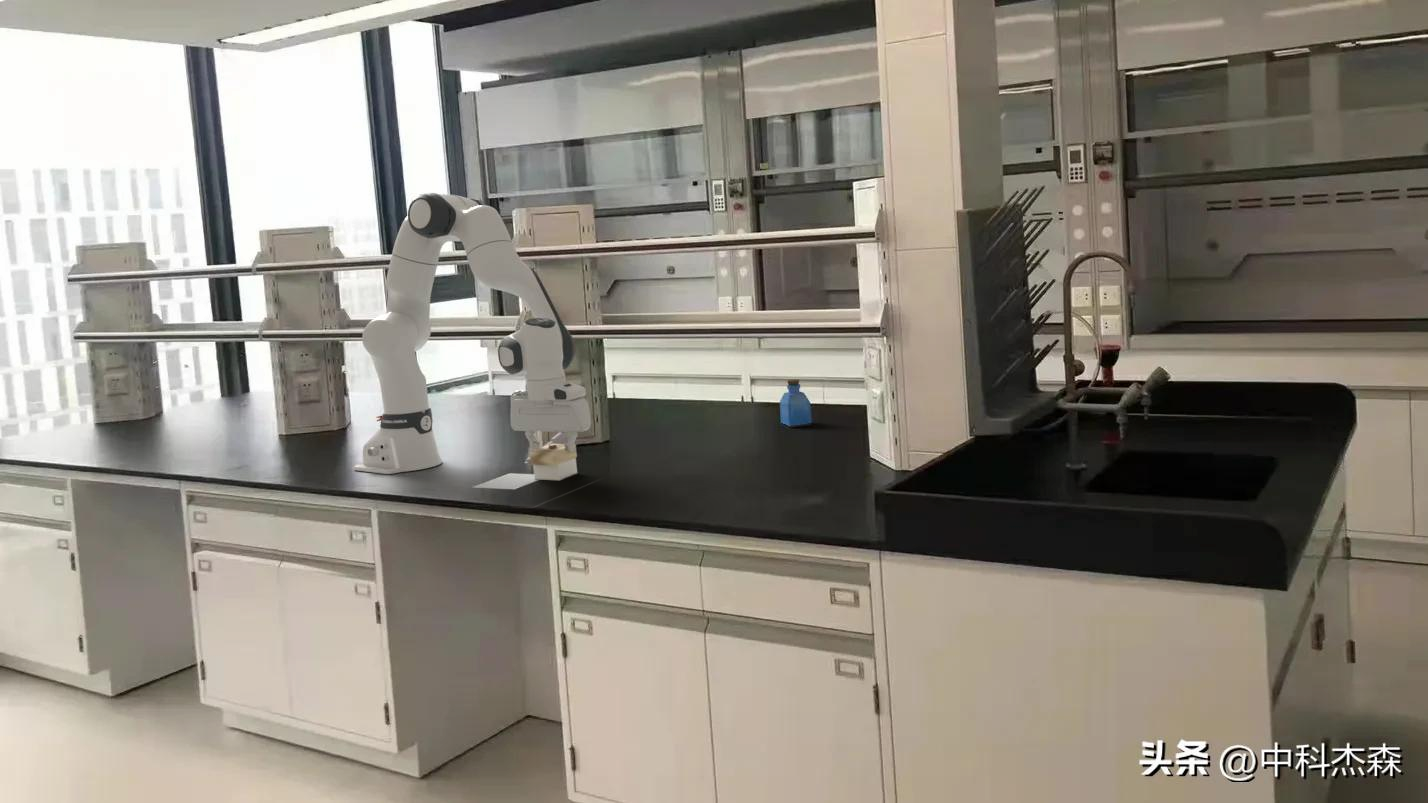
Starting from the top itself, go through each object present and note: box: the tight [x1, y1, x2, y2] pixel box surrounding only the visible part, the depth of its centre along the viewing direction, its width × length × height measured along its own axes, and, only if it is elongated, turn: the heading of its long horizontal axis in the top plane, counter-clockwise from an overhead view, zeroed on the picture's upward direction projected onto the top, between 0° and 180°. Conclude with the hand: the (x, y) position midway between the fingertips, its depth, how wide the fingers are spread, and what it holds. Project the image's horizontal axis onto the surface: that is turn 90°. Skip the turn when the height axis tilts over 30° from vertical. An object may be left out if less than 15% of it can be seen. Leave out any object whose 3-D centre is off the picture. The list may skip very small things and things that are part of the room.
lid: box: [529, 443, 578, 466], centre depth 273 cm, size 6×9×4 cm
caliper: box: [524, 432, 570, 464], centre depth 301 cm, size 20×1×6 cm, turn 156°
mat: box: [471, 472, 541, 490], centre depth 272 cm, size 12×14×1 cm
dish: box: [532, 457, 578, 481], centre depth 274 cm, size 7×7×4 cm
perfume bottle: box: [779, 379, 812, 426], centre depth 316 cm, size 6×6×12 cm
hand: (552, 450), depth 273 cm, fingers open, 8 cm apart
